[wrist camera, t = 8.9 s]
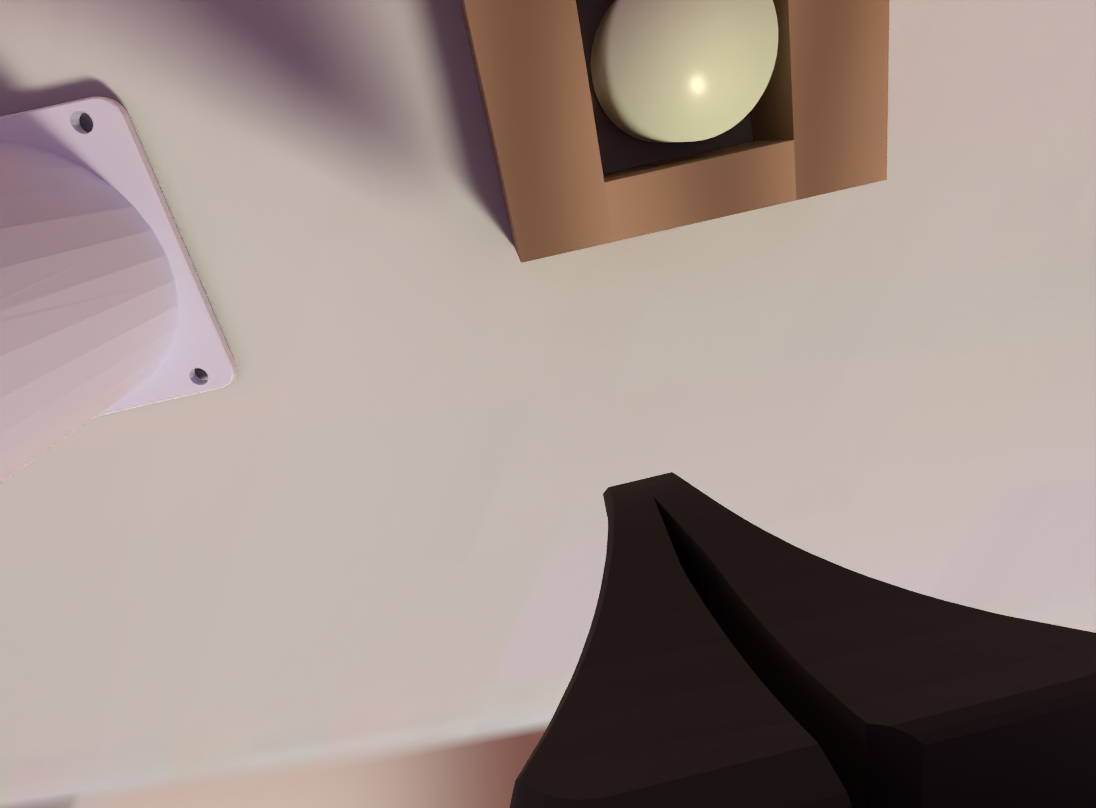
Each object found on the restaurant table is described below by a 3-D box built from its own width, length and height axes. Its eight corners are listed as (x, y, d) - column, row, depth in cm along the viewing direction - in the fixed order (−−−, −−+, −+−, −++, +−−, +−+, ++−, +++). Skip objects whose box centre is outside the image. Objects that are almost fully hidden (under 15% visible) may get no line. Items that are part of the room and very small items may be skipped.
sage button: (603, 156, 18) (624, 157, 15) (578, -7, 16) (597, -36, 14) (740, 125, 18) (782, 122, 15) (728, -40, 16) (773, -73, 14)
